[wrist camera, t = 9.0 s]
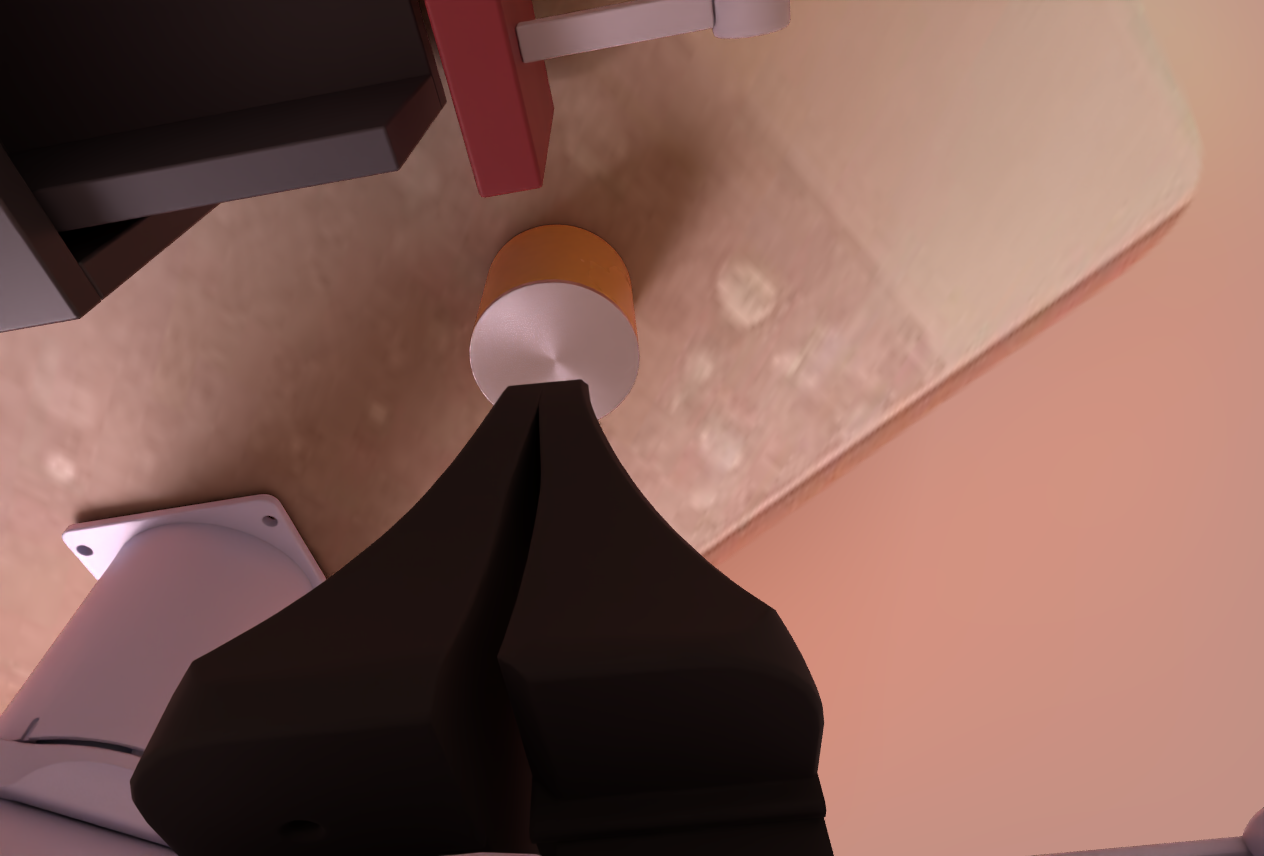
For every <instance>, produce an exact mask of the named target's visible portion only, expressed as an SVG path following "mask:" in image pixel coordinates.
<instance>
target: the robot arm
mask: <svg viewBox="0 0 1264 856" xmlns="http://www.w3.org/2000/svg"><path fill="white" fill-rule="evenodd" d="M268 516H272V517H274V518H275V519H272V518H270V517H268ZM62 539H63V541H64V543H65V544H66V545H67V546H68V547H69V548H70V549H71V551H72V552H73V553H74V554H75V555H76V556H77V557H78V559H79V560H80V561H81V562H82V563H83V564H84V565H85V567H86V568H87V569H88V570H89V571H90V572H91V573H92V575H93V576H94V577H95V578H96V579H97V580H98V582H97V583H96V584H95V586H94V587H93V588H92V590H91V591H90V593H89V594H88V595H87V597H86V598H85V600H84V601H83V602H82V604H81V605H80V607H79V608H78V609H77V611H76V612H75V614H74V615H73V616H72V618H71V619H70V620H69V622H68V623H67V625H66V626H65V627H64V629H63V630H62V632H61V633H60V634H59V636H58V637H57V639H56V640H55V641H54V643H53V644H52V645H51V647H50V648H49V650H48V651H47V652H46V654H45V655H44V657H43V658H42V659H41V661H40V662H39V664H38V665H37V666H36V668H35V669H34V670H33V672H32V673H31V675H30V676H29V677H28V679H27V680H26V682H25V683H24V684H23V686H22V687H21V689H20V690H19V691H18V693H17V694H16V695H15V697H14V698H13V700H12V701H11V702H10V704H9V705H8V707H7V708H6V709H5V711H4V712H3V714H2V715H1V716H0V856H834V855H833V851H832V847H831V843H830V839H829V836H828V832H827V828H826V824H825V820H824V817H825V816H826V805H825V800H824V796H823V792H822V788H821V785H820V781H819V777H818V774H817V770H818V763H819V756H820V748H821V742H822V735H823V727H824V717H823V707H822V702H821V699H820V696H819V693H818V690H817V687H816V685H815V683H814V680H813V678H812V676H811V674H810V671H809V669H808V667H807V665H806V663H805V660H804V659H803V656H802V654H801V653H800V651H799V649H798V647H797V645H796V644H795V642H794V640H793V638H792V636H791V635H790V633H789V631H788V630H787V628H786V626H785V625H784V623H783V621H782V620H781V618H780V617H779V615H778V614H777V612H776V610H774V609H773V608H771V607H770V606H768V605H767V604H765V603H764V602H762V601H761V600H759V599H758V598H756V597H754V596H753V595H752V594H750V593H749V592H747V591H746V590H744V589H743V588H741V587H740V586H739V585H737V584H736V583H734V582H733V581H732V580H730V579H729V578H728V577H727V576H725V575H724V574H723V573H721V572H720V571H719V570H718V569H717V568H715V567H714V566H713V565H712V564H710V563H709V562H708V561H707V560H706V559H705V558H704V557H702V556H701V555H700V554H699V553H698V552H697V551H696V550H695V549H694V548H693V547H692V546H691V545H690V544H688V543H687V542H686V541H685V540H684V539H683V538H682V537H681V536H680V535H679V534H678V533H677V532H676V531H675V530H674V529H673V528H672V527H671V526H670V525H669V524H668V523H667V522H666V521H665V520H664V519H663V517H662V516H661V515H660V514H659V513H658V512H657V511H656V510H655V508H654V507H653V506H652V505H651V504H650V502H649V501H648V500H647V499H646V498H645V496H644V495H643V494H642V493H641V491H640V490H639V489H638V487H637V486H636V484H635V483H634V482H633V480H632V479H631V478H630V476H629V475H628V473H627V472H626V470H625V469H624V467H623V466H622V464H621V463H620V461H619V459H618V458H617V456H616V454H615V453H614V451H613V449H612V447H611V446H610V444H609V442H608V440H607V438H606V436H605V434H604V433H603V431H602V429H601V426H600V424H599V422H598V420H597V417H596V415H595V412H594V410H593V407H592V404H591V401H590V393H589V385H588V384H587V383H586V382H584V381H583V380H582V379H577V380H566V381H555V382H544V383H534V384H523V385H512V386H508V387H507V388H506V389H505V390H504V391H503V392H502V394H501V395H500V397H499V398H498V400H497V401H496V403H495V404H494V406H493V407H492V409H491V410H490V412H489V413H488V415H487V416H486V418H485V419H484V420H483V422H482V423H481V425H480V426H479V428H478V429H477V430H476V432H475V433H474V434H473V436H472V437H471V438H470V440H469V441H468V442H467V444H466V445H465V446H464V448H463V449H462V450H461V452H460V453H459V454H458V456H457V457H456V458H455V460H454V461H453V462H452V463H451V465H450V466H449V467H448V468H447V469H446V470H445V472H444V473H443V474H442V475H441V476H440V477H439V479H438V480H437V481H436V482H435V483H434V484H433V486H432V487H431V488H430V489H429V490H428V491H427V493H426V494H425V495H424V496H423V497H422V498H421V499H420V500H419V501H418V502H417V503H416V504H415V505H414V506H413V507H412V508H411V509H410V510H409V511H408V512H407V513H406V514H405V515H404V516H403V517H402V518H401V519H400V520H399V521H398V522H397V523H396V524H395V525H394V526H392V527H391V528H390V529H389V530H388V531H387V532H386V533H385V534H384V535H382V536H381V537H380V538H379V539H378V540H376V541H375V542H374V543H373V544H371V545H370V546H369V547H368V548H366V549H365V550H364V551H363V552H361V553H360V554H359V555H358V556H357V557H355V558H354V559H353V560H352V561H350V562H349V563H348V564H347V565H345V566H344V567H343V568H342V569H340V570H339V571H338V572H336V573H335V574H334V575H332V576H331V577H330V578H328V579H326V578H325V576H324V574H323V573H322V571H321V569H320V568H319V566H318V564H317V563H316V561H315V559H314V558H313V556H312V554H311V553H310V551H309V549H308V548H307V546H306V544H305V542H304V541H303V539H302V537H301V536H300V534H299V532H298V531H297V529H296V527H295V526H294V524H293V522H292V521H291V519H290V517H289V516H288V514H287V512H286V511H285V509H284V507H283V506H282V504H281V502H280V501H279V500H278V499H277V498H275V497H274V496H272V495H268V494H258V495H252V496H246V497H240V498H233V499H227V500H221V501H215V502H208V503H202V504H196V505H190V506H183V507H177V508H171V509H165V510H158V511H152V512H146V513H140V514H133V515H127V516H121V517H115V518H108V519H102V520H96V521H90V522H83V523H77V524H72V525H70V526H68V528H67V529H66V530H65V531H64V532H63V534H62ZM1034 856H1264V807H1263V808H1262V809H1261V810H1260V811H1258V812H1257V813H1256V814H1255V815H1254V816H1253V817H1252V819H1251V820H1250V821H1249V823H1248V825H1247V827H1246V828H1245V830H1244V833H1243V836H1240V837H1229V838H1218V839H1208V840H1197V841H1186V842H1175V843H1164V844H1153V845H1142V846H1132V847H1121V848H1110V849H1099V850H1088V851H1077V852H1066V853H1057V854H1044V855H1034Z"/></svg>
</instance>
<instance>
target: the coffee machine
mask: <svg viewBox="0 0 1264 856" xmlns="http://www.w3.org/2000/svg"><path fill="white" fill-rule="evenodd" d="M219 204H220V203H217V204H212V205H206V206H201V207H195V208H190V209H184V210H179V211H173V212H168V213H162V214H157V215H151V216H146V217H140V218H135V219H129V220H124V221H118V222H113V223H107V224H102V225H96V226H91V227H85V228H80V229H74V230H69V231H63V232H57V230H56V229H55V227H54V225H53V224H52V222H51V221H50V219H49V218H48V216H47V215H46V213H45V212H44V210H43V209H42V207H41V205H40V204H39V202H38V201H37V199H36V198H35V196H34V195H33V193H32V192H31V190H30V189H29V187H28V185H27V184H26V182H25V181H24V179H23V178H22V176H21V175H20V173H19V172H18V170H17V169H16V167H15V165H14V164H13V162H12V161H11V159H10V158H9V156H8V155H7V153H6V152H5V150H4V149H3V147H2V145H1V144H0V333H1V332H7V331H13V330H18V329H24V328H30V327H35V326H41V325H47V324H53V323H58V322H64V321H70V320H75V319H80V318H81V317H83V316H84V315H85V314H86V313H87V312H89V311H90V310H91V309H92V308H94V307H95V306H96V305H97V304H98V303H100V302H101V300H103V299H104V298H105V297H107V296H108V295H109V294H110V293H112V292H113V291H114V290H115V289H116V288H118V287H119V286H120V285H121V284H123V283H124V282H125V281H126V280H127V279H129V278H130V277H131V276H132V275H134V274H135V273H136V272H137V271H138V270H140V269H141V268H142V267H143V266H144V265H146V264H147V263H148V262H149V261H151V260H152V259H153V258H154V257H155V256H157V255H158V254H159V253H160V252H162V251H163V250H164V249H165V248H166V247H168V246H169V245H170V244H171V243H173V242H174V241H175V240H176V239H177V238H179V237H180V236H181V235H182V234H183V233H185V232H186V231H187V230H188V229H190V228H191V227H192V226H193V225H194V224H196V223H197V222H198V221H199V220H201V219H202V218H203V217H204V216H205V215H207V214H208V213H209V212H210V211H212V210H213V209H214V208H215V207H216V206H218V205H219Z"/></svg>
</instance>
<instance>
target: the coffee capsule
mask: <svg viewBox="0 0 1264 856" xmlns="http://www.w3.org/2000/svg"><path fill="white" fill-rule="evenodd" d="M469 357H470V365H471V369H472V373H473V376H474V378H475V381H476V383H477V385H478V386H479V388H480V390H481V391H482V393H483V394H484V395H485V397H486V398H487V399H488V400H489V401H490V402H491V403H492V404H493V405H494V404H495V403H496V401H497V400H498V398H499V397H500V395H501V394H502V392H503V391H504V390H505V389H506V388H507V387H508V386H512V385H523V384H534V383H544V382H555V381H566V380H577V379H582V380H583V381H584V382H586V383H587V384H588V385H589V393H590V401H591V404H592V407H593V410H594V412H595V415H596V417H597V420H599V419H601V418H602V417H604V416H606V415H607V414H609V413H610V412H612V411H613V410H614V409H615V408H616V407H618V406H619V405H620V403H621V402H622V401H623V400H624V399H625V398H626V396H627V395H628V394H629V392H630V390H631V389H632V387H633V385H634V383H635V380H636V377H637V374H638V369H639V359H640V355H639V345H638V337H637V328H636V320H635V312H634V303H633V295H632V287H631V281H630V277H629V273H628V271H627V268H626V266H625V264H624V262H623V261H622V259H621V257H620V256H619V255H618V253H617V252H616V251H615V250H614V249H613V248H612V247H611V246H610V245H609V244H608V243H607V242H606V241H604V240H603V239H602V238H600V237H599V236H597V235H595V234H593V233H591V232H589V231H587V230H584V229H581V228H578V227H574V226H568V225H544V226H539V227H535V228H532V229H529V230H527V231H524V232H522V233H521V234H519V235H517V236H515V237H514V238H513V239H511V240H510V241H509V242H507V243H506V244H505V245H504V246H503V247H502V248H501V250H500V251H499V252H498V254H497V255H496V256H495V258H494V260H493V262H492V264H491V267H490V269H489V272H488V276H487V279H486V283H485V287H484V291H483V295H482V298H481V302H480V306H479V310H478V314H477V317H476V321H475V325H474V329H473V333H472V337H471V342H470V350H469Z"/></svg>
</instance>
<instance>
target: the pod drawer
mask: <svg viewBox="0 0 1264 856" xmlns="http://www.w3.org/2000/svg"><path fill="white" fill-rule="evenodd" d="M424 2H425V6H426V9H427V13H428V16H429V20H430V23H431V27H432V30H433V34H434V37H435V41H436V44H437V48H438V51H439V55H440V58H441V62H442V65H443V69H444V72H445V76H446V79H447V83H448V86H449V90H450V93H451V97H452V100H453V104H454V107H455V111H456V114H457V118H458V121H459V125H460V128H461V132H462V135H463V139H464V142H465V146H466V150H467V153H468V157H469V160H470V164H471V167H472V171H473V174H474V178H475V181H476V185H477V188H478V192H479V194H480V195H481V197H485V198H486V197H492V196H497V195H503V194H508V193H514V192H519V191H525V190H531V189H536V188H540V187H541V186H542V185H543V178H544V172H545V165H546V159H547V152H548V146H549V139H550V133H551V126H552V119H553V113H554V105H553V100H552V96H551V91H550V86H549V81H548V77H547V72H546V67H545V62H544V60H545V59H551V58H556V57H561V56H567V55H572V54H577V53H583V52H588V51H593V50H599V49H604V48H609V47H615V46H620V45H625V44H631V43H636V42H641V41H647V40H652V39H657V38H663V37H668V36H673V35H679V34H684V33H689V32H694V31H700V30H705V29H710V28H712V30H713V34H714V36H715V37H718V38H722V39H739V38H748V37H755V36H760V35H765V34H769V33H773V32H776V31H779V30H781V29H783V28H785V27H787V26H788V25H789V23H790V20H791V19H790V0H634V1H629V2H624V3H619V4H614V5H608V6H603V7H598V8H593V9H587V10H582V11H577V12H572V13H566V14H561V15H556V16H551V17H545V18H540V19H535V14H534V10H533V5H532V0H424ZM446 102H447V100H446V97H445V93H444V90H443V86H442V83H441V79H440V76H439V73H438V69H437V66H436V62H435V59H434V55H433V52H432V48H431V45H430V42H429V38H428V35H427V31H426V28H425V24H424V21H423V17H422V14H421V10H420V7H419V4H418V0H0V144H1V145H2V147H3V149H4V150H5V152H6V153H7V155H8V156H9V158H10V159H11V161H12V162H13V164H14V165H15V167H16V169H17V170H18V172H19V173H20V175H21V176H22V178H23V179H24V181H25V182H26V184H27V185H28V187H29V189H30V190H31V192H32V193H33V195H34V196H35V198H36V199H37V201H38V202H39V204H40V205H41V207H42V209H43V210H44V212H45V213H46V215H47V216H48V218H49V219H50V221H51V222H52V224H53V225H54V227H55V229H56V230H57V232H63V231H69V230H74V229H80V228H85V227H91V226H96V225H102V224H107V223H113V222H118V221H124V220H129V219H135V218H140V217H146V216H151V215H157V214H162V213H168V212H173V211H179V210H184V209H190V208H195V207H201V206H206V205H212V204H217V203H223V202H228V201H234V200H239V199H245V198H250V197H256V196H261V195H267V194H272V193H278V192H283V191H289V190H294V189H300V188H305V187H311V186H316V185H322V184H327V183H333V182H338V181H344V180H349V179H355V178H360V177H366V176H371V175H377V174H382V173H388V172H393V171H398V170H399V169H400V168H401V167H402V165H403V164H404V162H405V161H406V160H407V158H408V157H409V155H410V154H411V152H412V151H413V150H414V148H415V147H416V145H417V144H418V142H419V141H420V140H421V138H422V137H423V135H424V134H425V132H426V131H427V130H428V128H429V127H430V125H431V124H432V122H433V121H434V120H435V118H436V117H437V115H438V114H439V112H440V111H441V109H442V108H443V107H444V105H445V104H446Z"/></svg>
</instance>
